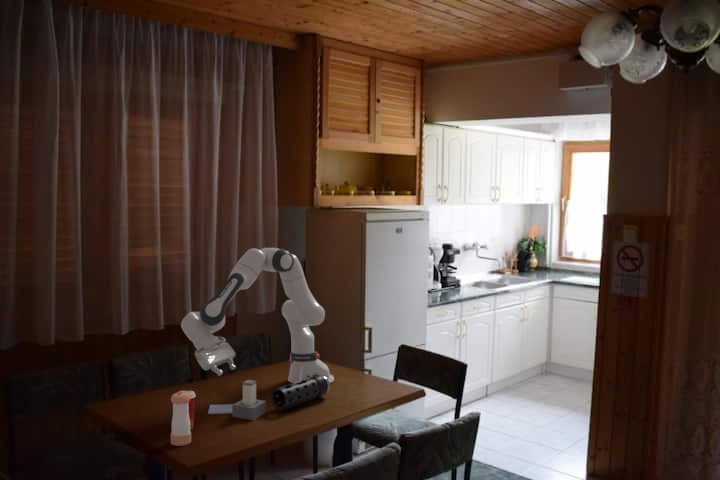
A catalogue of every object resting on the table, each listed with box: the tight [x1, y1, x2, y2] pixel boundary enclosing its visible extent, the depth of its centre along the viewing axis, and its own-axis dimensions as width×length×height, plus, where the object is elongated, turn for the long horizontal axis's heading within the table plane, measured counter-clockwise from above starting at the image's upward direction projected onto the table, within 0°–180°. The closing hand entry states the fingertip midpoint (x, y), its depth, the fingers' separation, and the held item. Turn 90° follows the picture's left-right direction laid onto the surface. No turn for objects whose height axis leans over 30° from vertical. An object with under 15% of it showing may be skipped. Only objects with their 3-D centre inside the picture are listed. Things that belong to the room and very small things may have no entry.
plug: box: [242, 379, 257, 406], centre depth 274 cm, size 4×4×14 cm
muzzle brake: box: [270, 375, 331, 412], centre depth 289 cm, size 10×28×10 cm, turn 141°
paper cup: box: [182, 390, 197, 431], centre depth 258 cm, size 8×8×14 cm
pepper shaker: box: [170, 390, 192, 447], centre depth 244 cm, size 7×7×19 cm
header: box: [231, 398, 267, 421], centre depth 274 cm, size 10×10×5 cm
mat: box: [207, 403, 234, 415], centre depth 280 cm, size 10×10×1 cm
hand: (227, 371), depth 277 cm, fingers open, 8 cm apart
